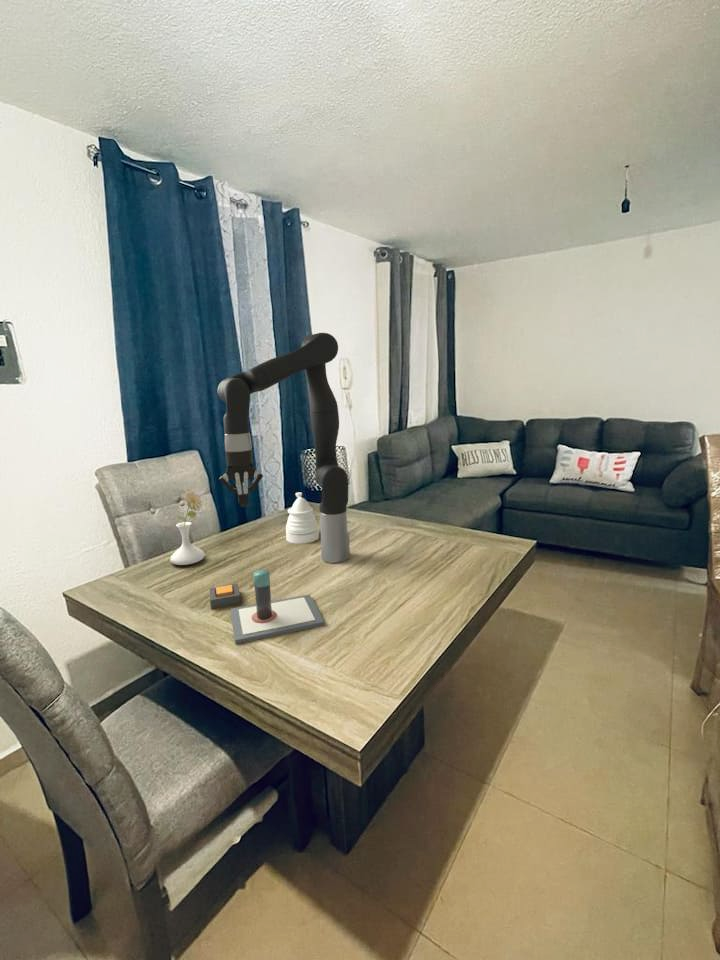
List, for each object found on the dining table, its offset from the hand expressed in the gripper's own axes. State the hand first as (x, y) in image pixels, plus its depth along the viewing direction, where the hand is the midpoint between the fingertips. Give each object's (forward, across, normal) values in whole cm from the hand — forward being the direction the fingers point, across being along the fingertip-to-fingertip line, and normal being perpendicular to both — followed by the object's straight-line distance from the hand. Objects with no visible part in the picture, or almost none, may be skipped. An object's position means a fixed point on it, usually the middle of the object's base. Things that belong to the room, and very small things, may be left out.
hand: (243, 505), depth 133 cm
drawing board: (+25, -4, +25) cm, 35 cm away
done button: (+24, +8, +9) cm, 26 cm away
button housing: (+25, +8, +9) cm, 28 cm away
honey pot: (+25, -24, -33) cm, 48 cm away
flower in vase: (+25, +18, -26) cm, 40 cm away
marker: (+23, -1, +25) cm, 34 cm away
